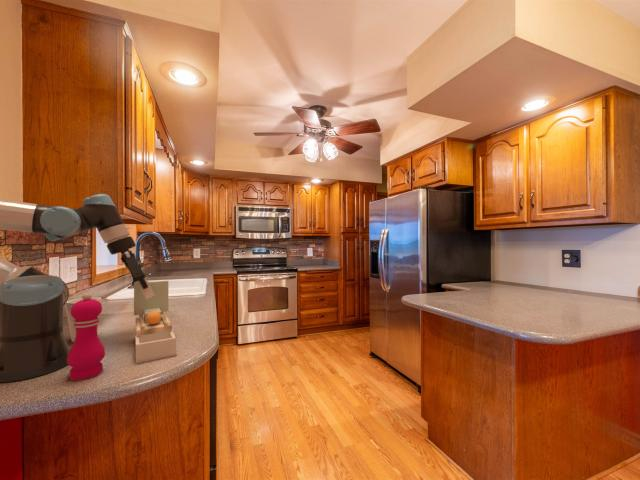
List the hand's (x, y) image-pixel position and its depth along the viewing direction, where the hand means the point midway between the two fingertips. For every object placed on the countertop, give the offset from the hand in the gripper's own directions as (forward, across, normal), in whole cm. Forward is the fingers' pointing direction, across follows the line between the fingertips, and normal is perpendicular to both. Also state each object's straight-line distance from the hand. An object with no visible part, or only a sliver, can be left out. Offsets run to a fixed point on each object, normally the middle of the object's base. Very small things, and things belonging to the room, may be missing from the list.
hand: (148, 295), depth 98 cm
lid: (+7, -6, +2) cm, 9 cm away
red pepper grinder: (+5, +11, +22) cm, 25 cm away
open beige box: (+14, -18, +6) cm, 24 cm away
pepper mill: (+9, -23, +20) cm, 32 cm away
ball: (+6, -13, +2) cm, 14 cm away
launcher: (+14, -8, +5) cm, 17 cm away
